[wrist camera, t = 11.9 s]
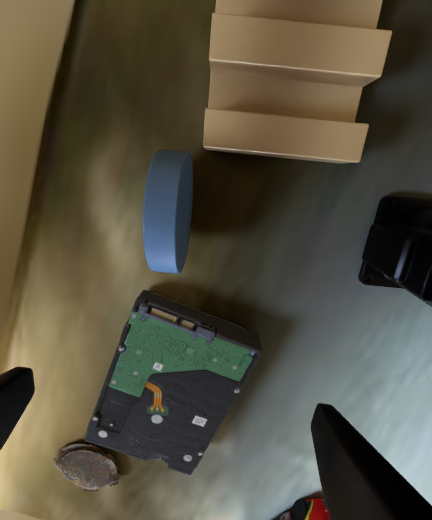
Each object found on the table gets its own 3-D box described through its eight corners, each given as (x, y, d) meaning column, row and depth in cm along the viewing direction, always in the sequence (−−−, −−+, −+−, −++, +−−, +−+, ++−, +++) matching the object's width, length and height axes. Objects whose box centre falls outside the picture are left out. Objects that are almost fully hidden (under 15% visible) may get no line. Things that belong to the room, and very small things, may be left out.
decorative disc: (97, 432, 27) (92, 441, 26) (132, 472, 28) (129, 483, 27) (44, 452, 28) (38, 462, 27) (81, 490, 29) (77, 500, 29)
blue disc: (189, 255, 21) (172, 292, 14) (168, 253, 21) (141, 289, 14) (195, 156, 19) (180, 144, 12) (172, 154, 19) (143, 141, 12)
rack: (384, -37, 15) (421, -85, 12) (339, 163, 18) (360, 162, 15) (221, -53, 15) (220, -106, 12) (205, 150, 18) (202, 146, 15)
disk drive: (196, 447, 27) (260, 330, 22) (193, 477, 25) (265, 352, 20) (96, 414, 26) (141, 285, 21) (81, 442, 24) (129, 302, 19)
